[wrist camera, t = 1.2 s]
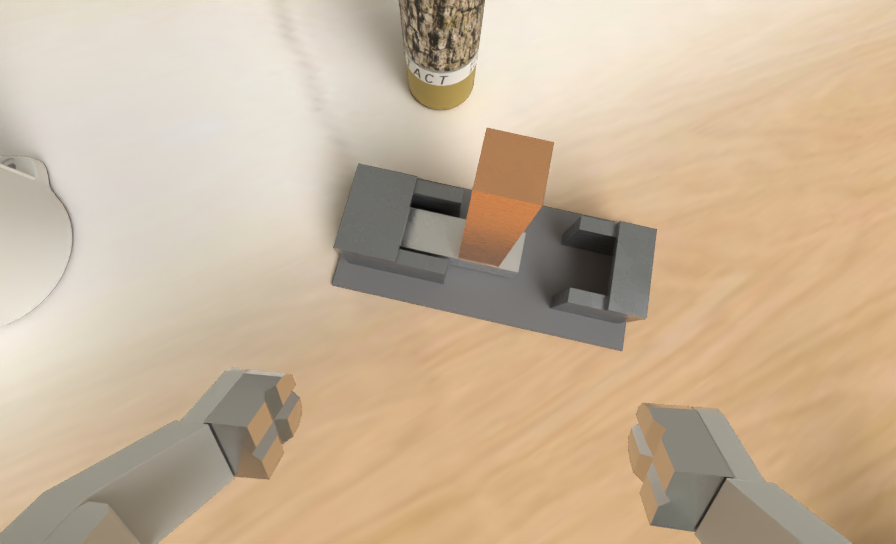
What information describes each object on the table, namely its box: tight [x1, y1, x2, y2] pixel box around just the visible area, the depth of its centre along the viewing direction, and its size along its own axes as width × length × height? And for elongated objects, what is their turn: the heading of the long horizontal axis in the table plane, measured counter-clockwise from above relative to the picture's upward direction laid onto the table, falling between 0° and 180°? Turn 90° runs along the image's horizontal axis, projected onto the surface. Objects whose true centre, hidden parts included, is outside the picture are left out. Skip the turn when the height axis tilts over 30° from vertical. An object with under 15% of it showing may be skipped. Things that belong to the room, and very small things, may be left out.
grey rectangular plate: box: [332, 178, 626, 351], centre depth 36 cm, size 27×12×1 cm, turn 77°
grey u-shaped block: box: [333, 163, 464, 285], centre depth 33 cm, size 9×7×5 cm
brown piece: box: [400, 128, 554, 278], centre depth 27 cm, size 15×4×17 cm, turn 77°
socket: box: [550, 216, 657, 324], centre depth 33 cm, size 6×7×5 cm
